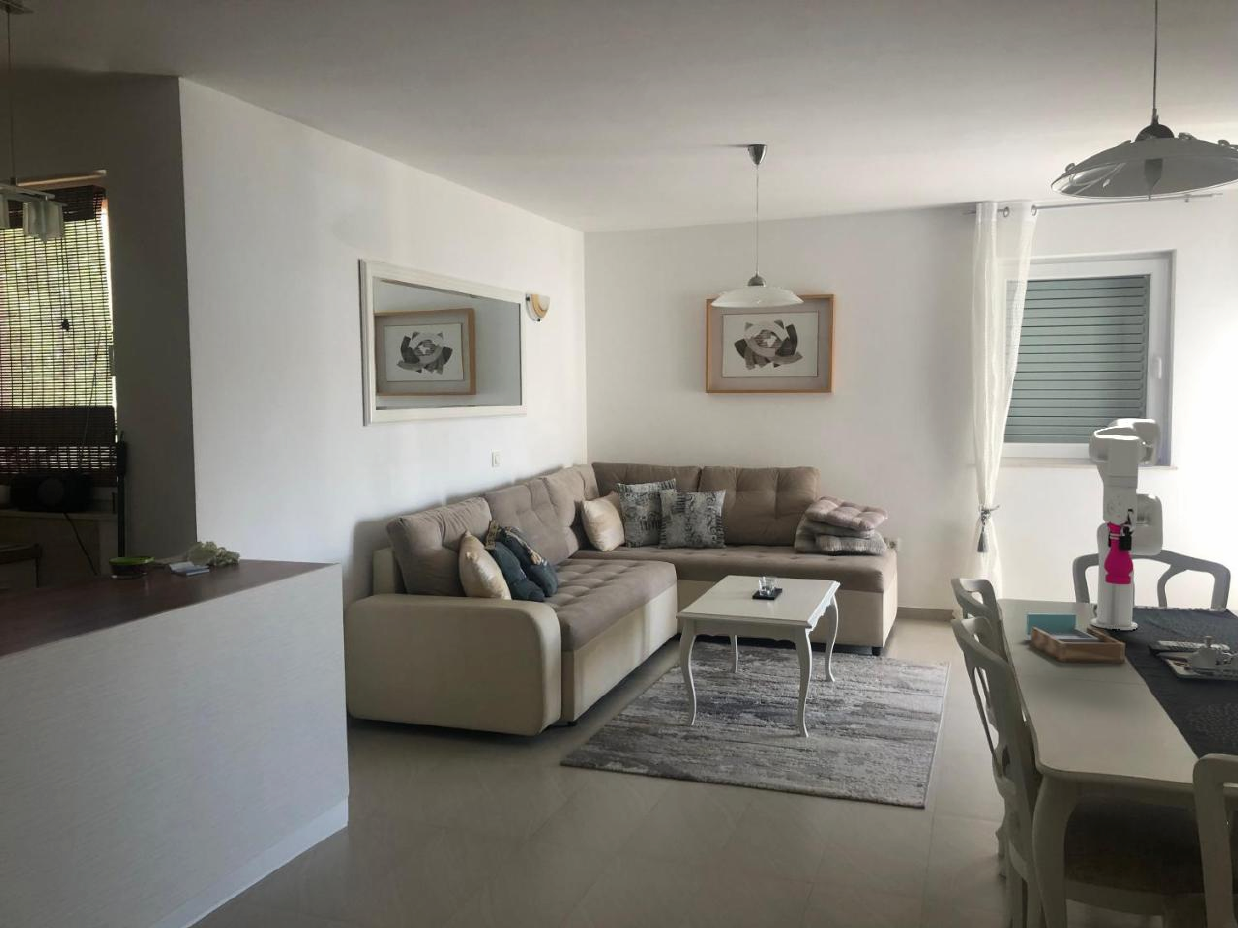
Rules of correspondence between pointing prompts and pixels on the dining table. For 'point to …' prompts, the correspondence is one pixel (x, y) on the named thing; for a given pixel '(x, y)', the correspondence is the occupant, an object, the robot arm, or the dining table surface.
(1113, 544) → the pepper mill
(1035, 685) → the dining table surface
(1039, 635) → the cubby
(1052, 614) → the drawer
